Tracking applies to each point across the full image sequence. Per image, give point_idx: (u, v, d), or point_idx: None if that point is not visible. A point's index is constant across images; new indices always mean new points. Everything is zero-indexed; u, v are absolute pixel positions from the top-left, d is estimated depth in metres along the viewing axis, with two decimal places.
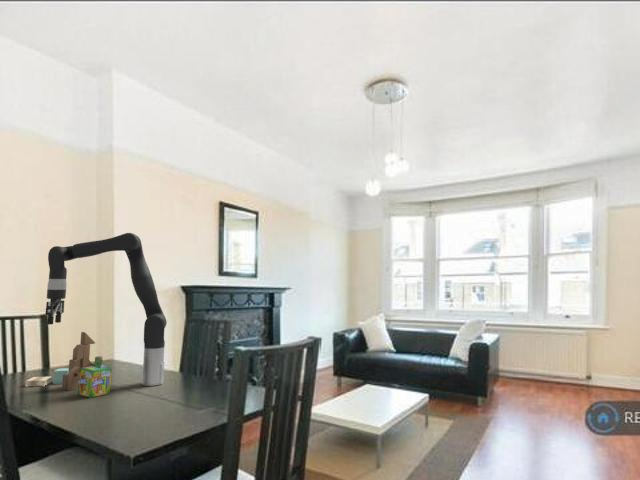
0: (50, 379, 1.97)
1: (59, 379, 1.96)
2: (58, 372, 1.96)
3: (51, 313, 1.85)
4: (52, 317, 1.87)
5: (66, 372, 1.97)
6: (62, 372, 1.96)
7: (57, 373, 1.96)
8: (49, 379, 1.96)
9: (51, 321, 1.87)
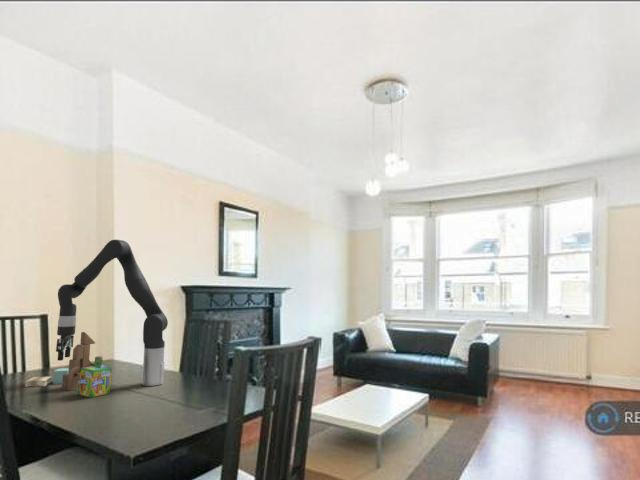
0: (50, 379, 1.97)
1: (59, 379, 1.96)
2: (58, 372, 1.96)
3: (61, 350, 1.94)
4: (62, 353, 1.96)
5: (66, 372, 1.97)
6: (62, 372, 1.96)
7: (57, 373, 1.96)
8: (49, 379, 1.96)
9: (61, 357, 1.95)
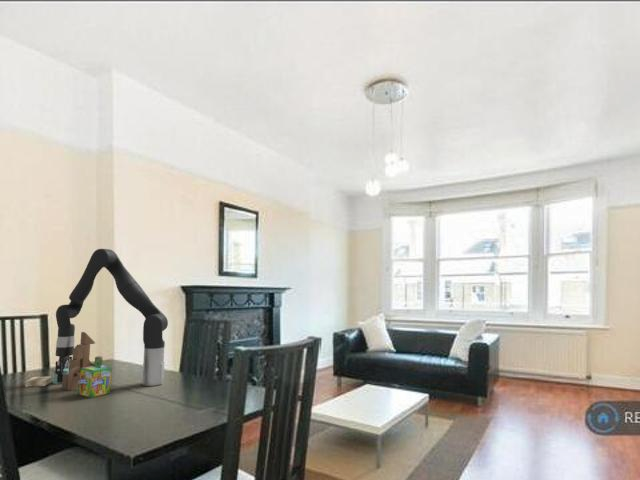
0: (50, 379, 1.97)
1: None
2: None
3: (61, 372, 1.94)
4: (62, 375, 1.96)
5: (66, 372, 1.97)
6: None
7: None
8: (49, 379, 1.96)
9: (61, 379, 1.95)
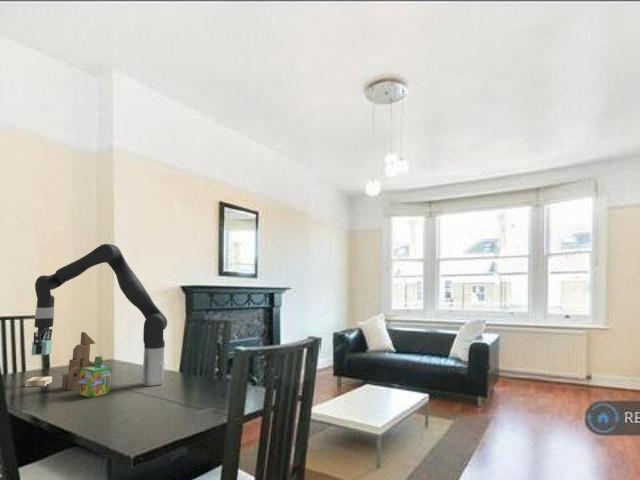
0: (50, 379, 1.97)
1: None
2: None
3: (39, 343, 1.90)
4: (40, 347, 1.92)
5: (45, 343, 1.93)
6: None
7: None
8: (49, 379, 1.96)
9: (39, 351, 1.92)
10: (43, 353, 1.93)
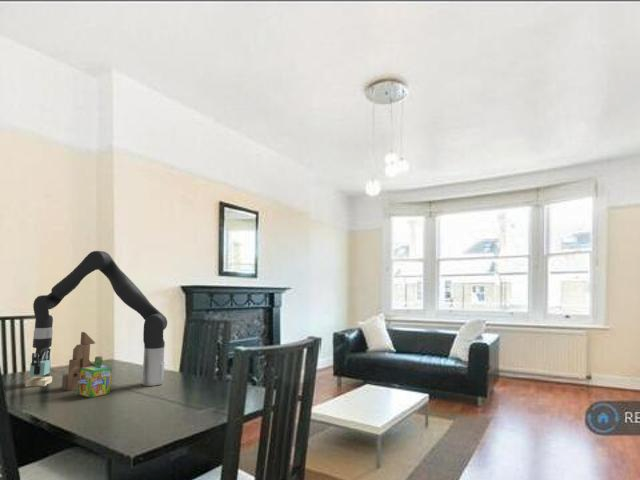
0: (50, 379, 1.97)
1: None
2: None
3: (37, 364, 1.89)
4: (38, 367, 1.91)
5: (43, 364, 1.92)
6: None
7: None
8: (49, 379, 1.96)
9: (37, 371, 1.91)
10: (41, 374, 1.92)
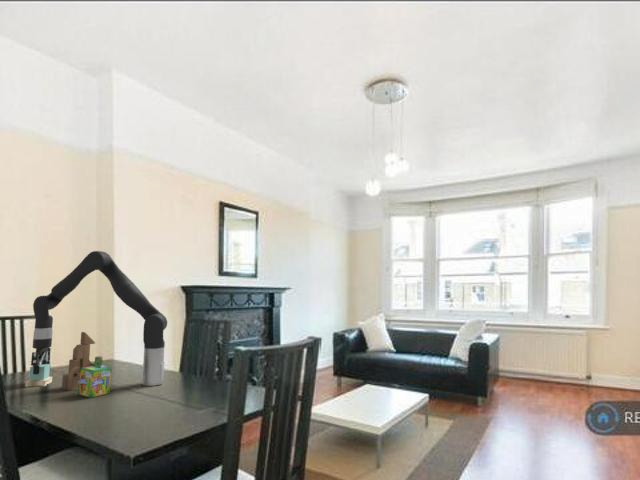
0: (50, 379, 1.97)
1: (36, 376, 1.91)
2: None
3: (37, 364, 1.89)
4: (38, 367, 1.90)
5: (43, 368, 1.92)
6: (39, 368, 1.92)
7: None
8: (49, 379, 1.96)
9: (37, 371, 1.90)
10: (41, 378, 1.92)
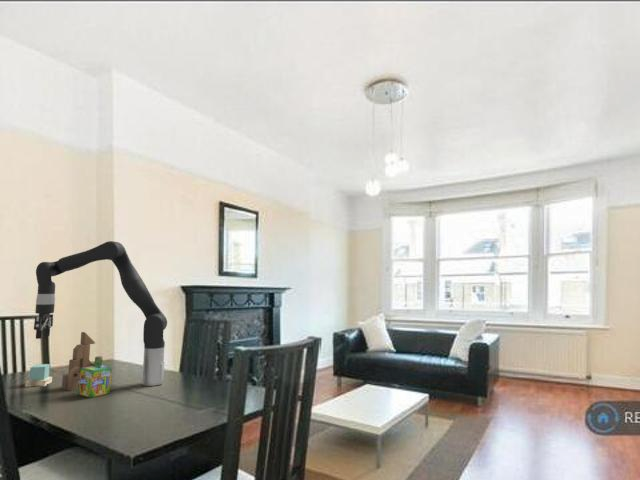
0: (50, 379, 1.97)
1: (36, 376, 1.91)
2: (35, 368, 1.92)
3: (39, 328, 1.90)
4: (40, 331, 1.92)
5: (43, 368, 1.92)
6: (39, 368, 1.92)
7: (34, 369, 1.91)
8: (49, 379, 1.96)
9: (39, 335, 1.92)
10: (41, 378, 1.92)
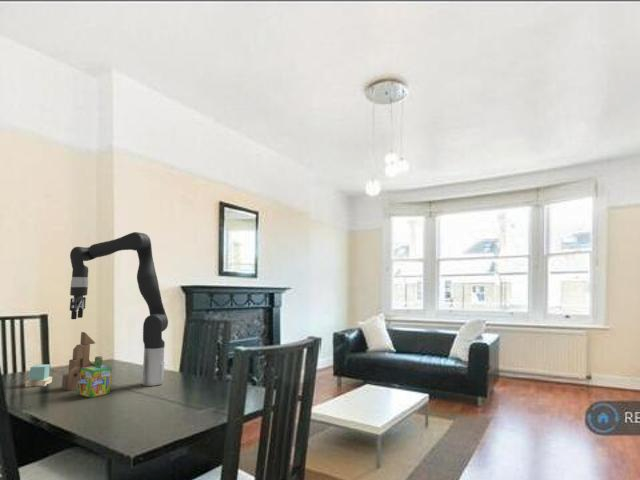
0: (50, 379, 1.97)
1: (36, 376, 1.91)
2: (35, 368, 1.91)
3: (75, 309, 2.00)
4: (75, 312, 2.02)
5: (43, 368, 1.92)
6: (39, 368, 1.92)
7: (34, 369, 1.91)
8: (49, 379, 1.96)
9: (75, 316, 2.02)
10: (41, 378, 1.92)
